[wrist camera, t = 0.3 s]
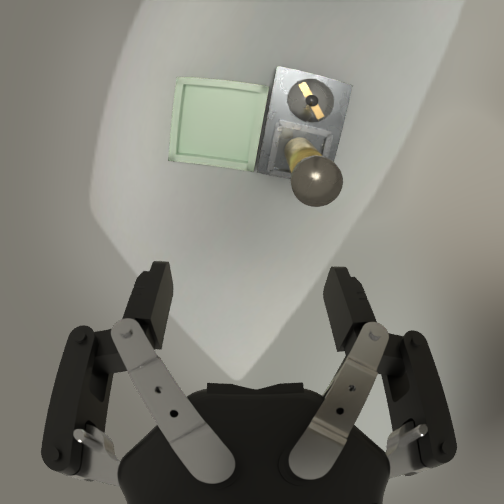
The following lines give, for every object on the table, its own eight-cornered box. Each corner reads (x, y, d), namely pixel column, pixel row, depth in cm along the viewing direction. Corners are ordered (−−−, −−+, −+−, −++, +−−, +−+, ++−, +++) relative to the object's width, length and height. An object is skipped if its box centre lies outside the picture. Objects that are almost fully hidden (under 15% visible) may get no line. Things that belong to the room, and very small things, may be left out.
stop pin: (285, 131, 33) (298, 152, 23) (320, 139, 34) (348, 164, 23) (278, 164, 36) (286, 201, 25) (312, 171, 36) (334, 210, 26)
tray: (180, 77, 31) (176, 76, 29) (268, 86, 32) (269, 86, 30) (172, 157, 37) (168, 160, 36) (253, 167, 38) (253, 171, 37)
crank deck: (276, 67, 30) (277, 65, 27) (347, 85, 31) (355, 85, 28) (257, 168, 38) (257, 174, 36) (323, 181, 39) (328, 188, 36)
